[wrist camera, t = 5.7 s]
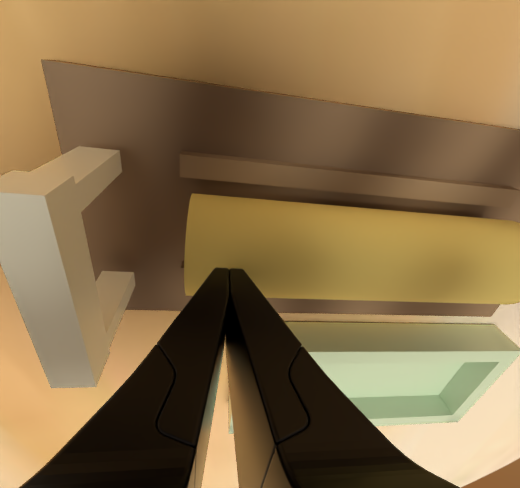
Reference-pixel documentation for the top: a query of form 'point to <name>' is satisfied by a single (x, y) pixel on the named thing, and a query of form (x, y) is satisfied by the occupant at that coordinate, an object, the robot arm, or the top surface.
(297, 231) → the yellow cylinder
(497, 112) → the top surface
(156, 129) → the holder board
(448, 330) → the tray
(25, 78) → the top surface
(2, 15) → the top surface
